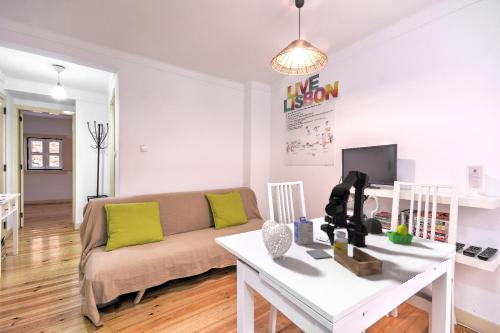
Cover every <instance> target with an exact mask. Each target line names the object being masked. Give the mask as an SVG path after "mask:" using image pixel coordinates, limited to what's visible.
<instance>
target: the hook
mask: <svg viewBox="0 0 500 333" xmlns="http://www.w3.org/2000/svg"><path fill="white" fill-rule="evenodd" d="M371 198H374V200H375V201H376V202H375V203H376V208H375V209H374V210H372V211H371V214H370V217H369V218H366V219H365V221H366V226H367V229H368V235H371V236H382V235H383V234H384V232H383V224H382V223H381V221H380V220H379V219H378V218H375V216H376V213H379V211H380V210H381V201H380V198H379V196H378V195H376V194H369V196H368V197H367V203H369V201H370V199H371Z"/></svg>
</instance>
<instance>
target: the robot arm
mask: <svg viewBox="0 0 500 333" xmlns="http://www.w3.org/2000/svg"><path fill="white" fill-rule="evenodd" d="M369 182H370V176H369V175H368V174H367V173H365V172H361V171H359V170H350V171H348V174H347V175H346V176H345V178H344V179H343V180H342V181H341V183H339V184H336V185H334V187H333V188H332V189H331V191H330V194H329V197H328V203H327V204H326V205H325V207H324V211H325V213H326V214H327V215H324V222H325V223H321V225H320V230H321V231H322V232H324V233H325V234H326V235H327V237H328V240H329V243H330V246H331V247H333V245H334V237H335V236H336V232H335V230H336V231H337V230H345V229H346V230H345V231H346V232H347V239H348V245H353V247H356V248H363V247H364V248H365V247H368V244H366V237H369V234H368V229H367V226H366V219H365V218H364V214H363V212H364V201H365V199H364V198H365V189H366V188H368V186H369ZM351 188H353V189H354V196H353V197H354V198H353V199H354V200H353V210H352V211H353V212H352V216H351V217H350V216H349V215H348V203H349V198H350V197H351Z"/></svg>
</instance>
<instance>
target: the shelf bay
mask: <svg viewBox="0 0 500 333" xmlns="http://www.w3.org/2000/svg"><path fill="white" fill-rule="evenodd" d="M333 260H334V261H335V262H336V263H338V264H339V265H341V266H342V267H343V268H345V269H347V270H348V271H349V272H351V273H352V274H354V275H356V276H357V277H365V276H373V275H380V274H381V275H382V274H383V260H381V259H379V258H378V257H375V256H373V255H371V254H369V253H368V252H366V251H364V250H362V249H359V247H356V246H353V247H352V257H350V256H349V255H348V256H347V255H346V254H344V253H342V252H341V251H339V250H337V249H334V255H333Z"/></svg>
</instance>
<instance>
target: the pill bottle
mask: <svg viewBox="0 0 500 333" xmlns="http://www.w3.org/2000/svg"><path fill="white" fill-rule="evenodd" d="M332 248H333V250H332V252H333V256H334V249H337V250H339V251H341V252H342V253H344V254H346V255H347V256H349V255H348V254H349V244H348V237H347V233H346V232H345V231H343V230H342V231H341V230H338V231H337V230H336V231H335V237H334V245H333V246H332Z"/></svg>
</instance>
